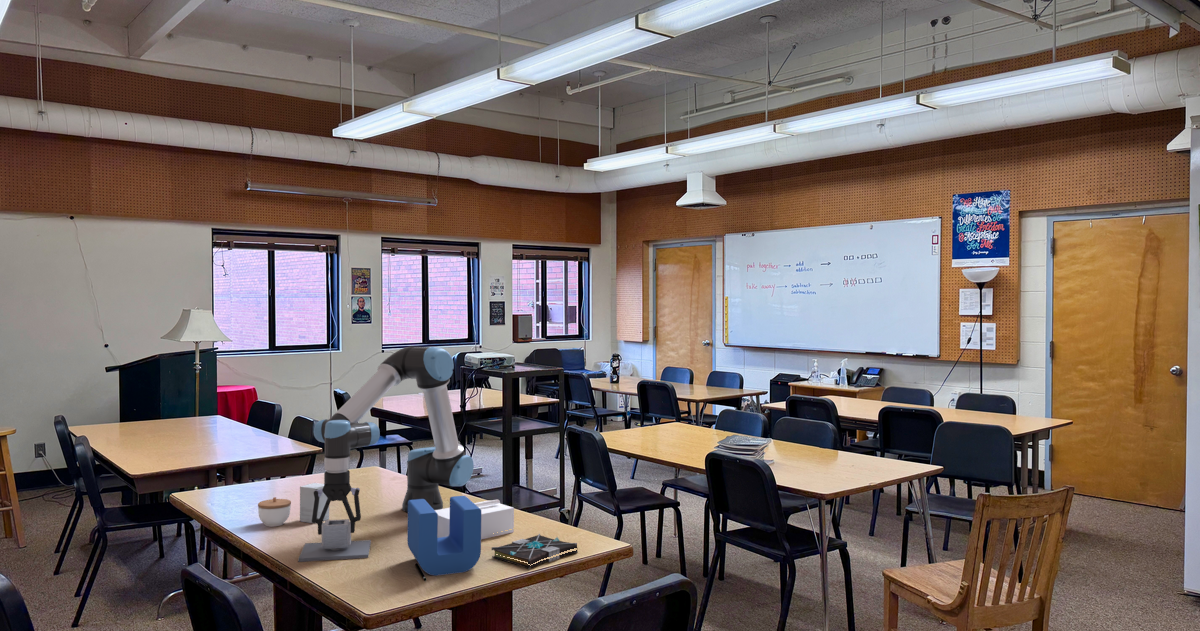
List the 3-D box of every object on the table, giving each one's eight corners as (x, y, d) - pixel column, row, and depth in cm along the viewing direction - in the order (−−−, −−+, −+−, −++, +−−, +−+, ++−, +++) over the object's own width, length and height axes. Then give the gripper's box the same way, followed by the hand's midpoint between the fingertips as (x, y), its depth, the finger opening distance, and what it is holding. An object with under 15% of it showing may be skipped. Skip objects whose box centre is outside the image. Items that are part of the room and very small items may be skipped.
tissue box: (427, 537, 264) (427, 504, 264) (489, 524, 281) (489, 493, 281) (450, 546, 253) (451, 512, 253) (513, 533, 270) (514, 501, 270)
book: (529, 571, 231) (529, 553, 231) (490, 559, 241) (490, 542, 241) (578, 554, 247) (578, 538, 247) (539, 544, 258) (539, 528, 258)
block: (418, 577, 222) (419, 514, 222) (407, 559, 239) (407, 500, 239) (480, 570, 230) (481, 508, 230) (465, 553, 246) (466, 495, 246)
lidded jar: (278, 529, 270) (279, 502, 270) (251, 527, 272) (251, 500, 272) (296, 521, 281) (297, 495, 281) (269, 519, 283) (270, 493, 283)
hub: (348, 541, 250) (349, 519, 250) (347, 547, 243) (347, 524, 243) (325, 542, 248) (325, 520, 248) (323, 549, 241) (323, 526, 241)
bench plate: (370, 543, 255) (371, 518, 255) (368, 557, 240) (368, 531, 240) (305, 546, 251) (305, 521, 251) (298, 561, 235) (298, 534, 235)
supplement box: (329, 519, 284) (330, 484, 284) (314, 524, 278) (314, 488, 278) (314, 516, 288) (314, 482, 288) (298, 521, 281) (299, 486, 281)
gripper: (371, 467, 251) (370, 539, 251) (304, 469, 247) (303, 542, 247) (369, 471, 244) (369, 545, 244) (301, 474, 239) (300, 549, 239)
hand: (336, 544), depth 245 cm, fingers closed on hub, 7 cm apart
